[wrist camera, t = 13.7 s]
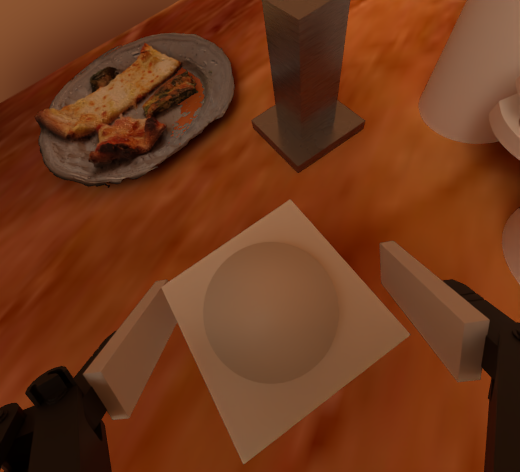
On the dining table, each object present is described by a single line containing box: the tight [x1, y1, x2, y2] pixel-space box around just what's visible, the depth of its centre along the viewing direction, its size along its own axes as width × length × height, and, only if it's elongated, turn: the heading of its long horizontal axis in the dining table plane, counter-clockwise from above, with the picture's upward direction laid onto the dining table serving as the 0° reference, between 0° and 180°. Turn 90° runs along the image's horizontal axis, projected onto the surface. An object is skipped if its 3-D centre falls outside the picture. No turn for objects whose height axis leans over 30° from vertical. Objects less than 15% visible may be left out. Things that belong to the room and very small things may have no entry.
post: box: [251, 0, 365, 173], centre depth 21 cm, size 8×8×11 cm
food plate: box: [35, 33, 235, 188], centre depth 30 cm, size 25×23×4 cm
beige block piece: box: [161, 199, 411, 465], centre depth 14 cm, size 8×8×9 cm
